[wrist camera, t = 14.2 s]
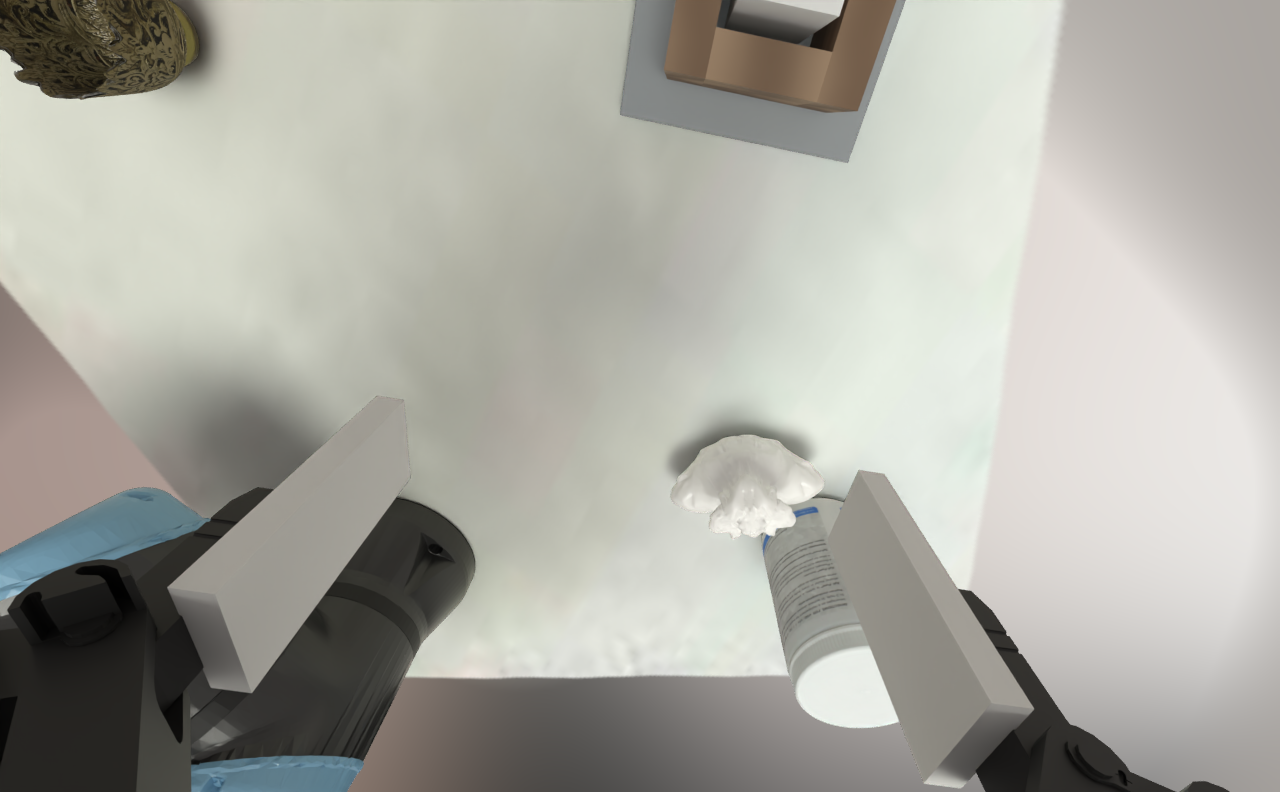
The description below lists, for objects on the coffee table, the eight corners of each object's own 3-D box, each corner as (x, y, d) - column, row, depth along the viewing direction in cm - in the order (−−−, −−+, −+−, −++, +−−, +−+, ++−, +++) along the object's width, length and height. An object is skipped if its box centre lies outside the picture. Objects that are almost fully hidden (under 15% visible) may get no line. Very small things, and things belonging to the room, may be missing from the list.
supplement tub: (758, 568, 49) (784, 728, 36) (762, 492, 44) (794, 645, 31) (860, 569, 48) (925, 734, 35) (876, 492, 43) (957, 649, 30)
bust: (806, 430, 43) (832, 416, 32) (821, 519, 42) (853, 536, 31) (670, 446, 45) (651, 438, 34) (680, 532, 44) (663, 552, 33)
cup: (261, 55, 31) (136, 35, 24) (195, 128, 33) (64, 130, 26) (151, -80, 28) (-27, -147, 21) (88, 11, 30) (-91, -22, 23)
